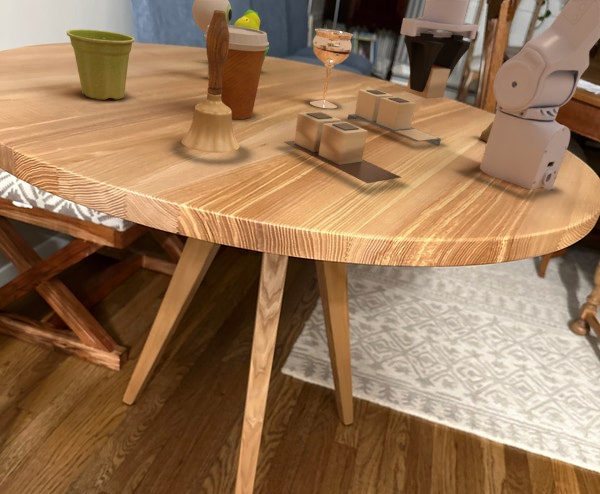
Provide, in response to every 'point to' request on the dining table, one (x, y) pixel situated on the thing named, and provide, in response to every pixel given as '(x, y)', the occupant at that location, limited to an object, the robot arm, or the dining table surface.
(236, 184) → the dining table surface
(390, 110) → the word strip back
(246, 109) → the disposable coffee cup
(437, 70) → the red-topped wooden cube
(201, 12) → the lollipop
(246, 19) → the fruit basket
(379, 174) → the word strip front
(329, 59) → the wineglass
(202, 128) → the hand bell
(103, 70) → the plant pot
